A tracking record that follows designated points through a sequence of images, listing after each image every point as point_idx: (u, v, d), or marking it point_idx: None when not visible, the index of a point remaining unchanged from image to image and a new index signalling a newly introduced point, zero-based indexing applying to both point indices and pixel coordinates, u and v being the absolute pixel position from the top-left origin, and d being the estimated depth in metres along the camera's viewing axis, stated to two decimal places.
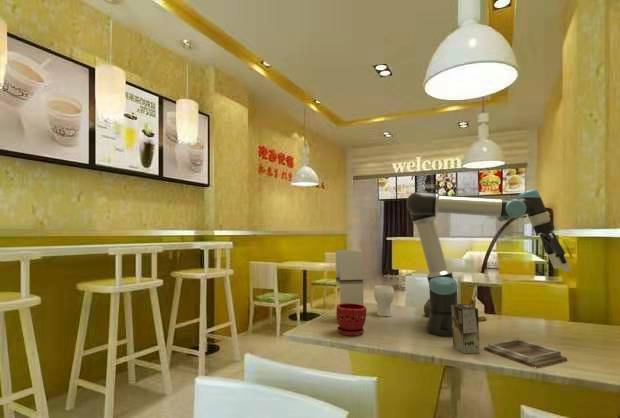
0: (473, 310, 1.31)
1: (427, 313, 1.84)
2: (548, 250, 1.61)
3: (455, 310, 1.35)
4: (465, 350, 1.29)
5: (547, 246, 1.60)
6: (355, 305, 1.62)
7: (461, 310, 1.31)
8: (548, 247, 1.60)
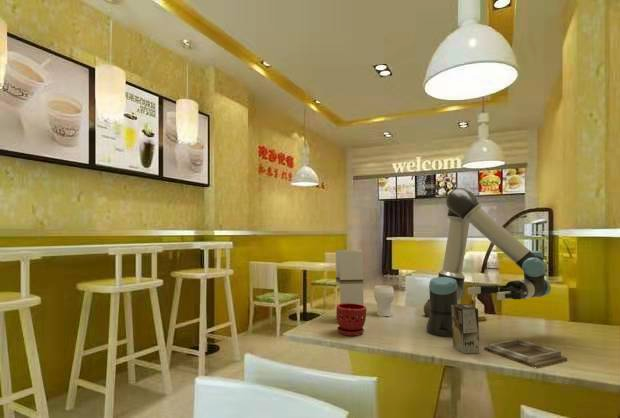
0: (473, 310, 1.31)
1: (427, 313, 1.84)
2: (485, 288, 1.48)
3: (455, 310, 1.35)
4: (465, 350, 1.29)
5: (492, 288, 1.47)
6: (355, 305, 1.62)
7: (461, 310, 1.31)
8: (490, 289, 1.47)
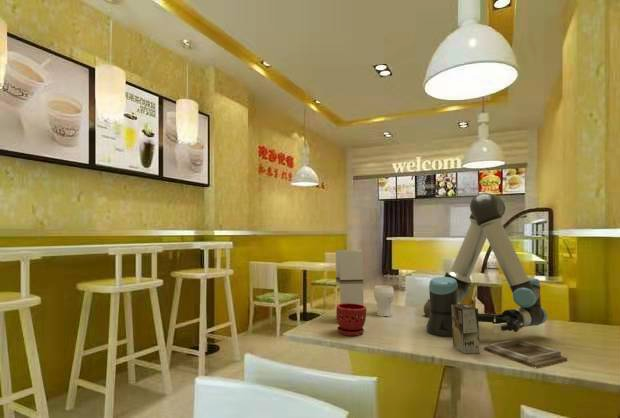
0: (473, 310, 1.31)
1: (427, 313, 1.84)
2: (480, 317, 1.44)
3: (455, 310, 1.35)
4: (465, 350, 1.29)
5: (488, 317, 1.44)
6: (355, 305, 1.62)
7: (461, 310, 1.31)
8: (485, 317, 1.44)
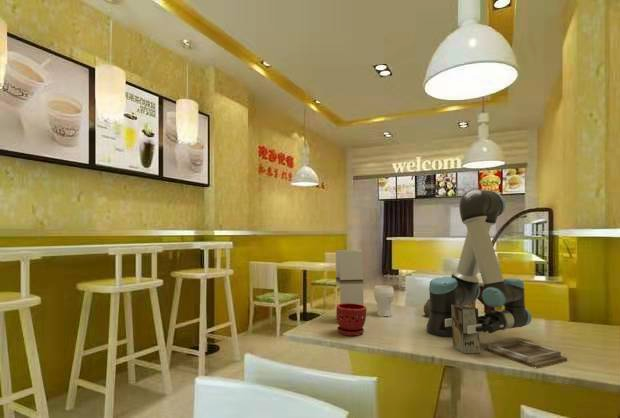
0: (473, 310, 1.31)
1: (427, 313, 1.84)
2: None
3: (455, 310, 1.35)
4: (465, 350, 1.29)
5: None
6: (355, 305, 1.62)
7: (461, 310, 1.31)
8: None
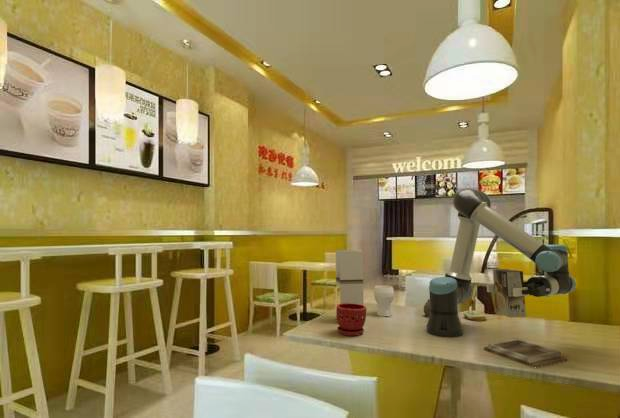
0: (518, 273, 1.26)
1: (427, 313, 1.84)
2: None
3: (498, 274, 1.30)
4: (511, 314, 1.24)
5: None
6: (355, 305, 1.62)
7: (505, 273, 1.26)
8: None
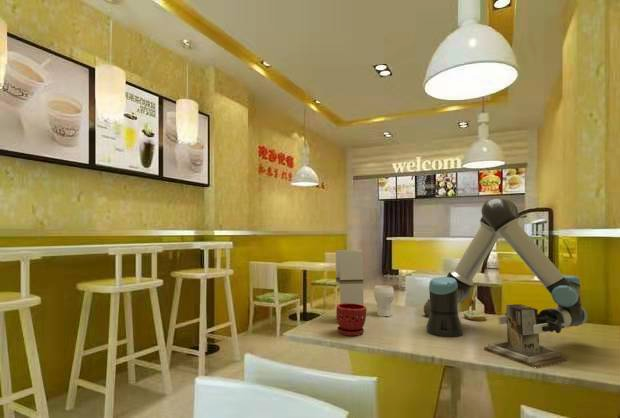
0: (532, 311, 1.24)
1: (427, 313, 1.84)
2: None
3: (511, 311, 1.29)
4: (525, 353, 1.23)
5: None
6: (355, 305, 1.62)
7: (520, 311, 1.25)
8: None
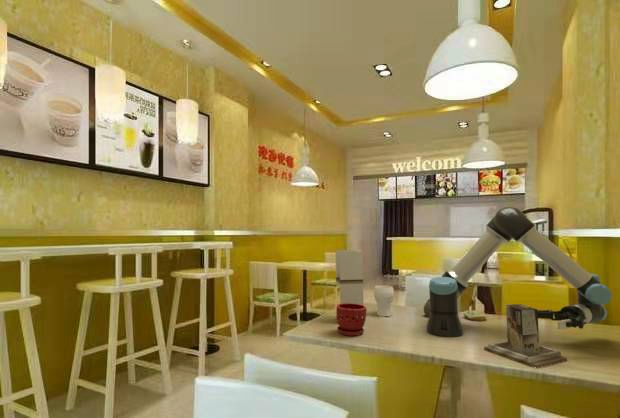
0: (532, 311, 1.24)
1: (427, 313, 1.84)
2: (539, 313, 1.41)
3: (511, 311, 1.29)
4: (525, 353, 1.23)
5: (546, 313, 1.40)
6: (355, 305, 1.62)
7: (520, 311, 1.25)
8: (544, 314, 1.40)
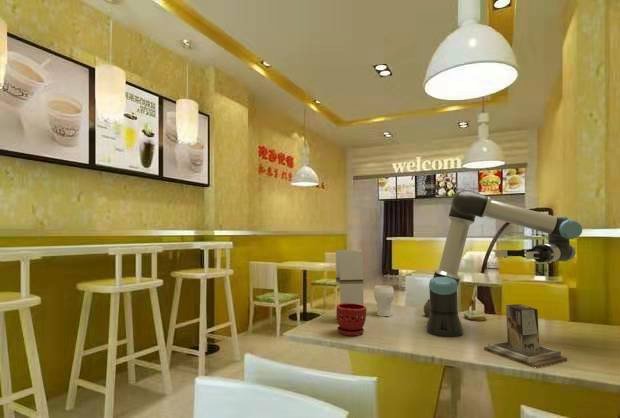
0: (532, 311, 1.24)
1: (427, 313, 1.84)
2: (511, 251, 1.51)
3: (511, 311, 1.29)
4: (525, 353, 1.23)
5: (518, 251, 1.50)
6: (355, 305, 1.62)
7: (520, 311, 1.25)
8: (516, 252, 1.51)
